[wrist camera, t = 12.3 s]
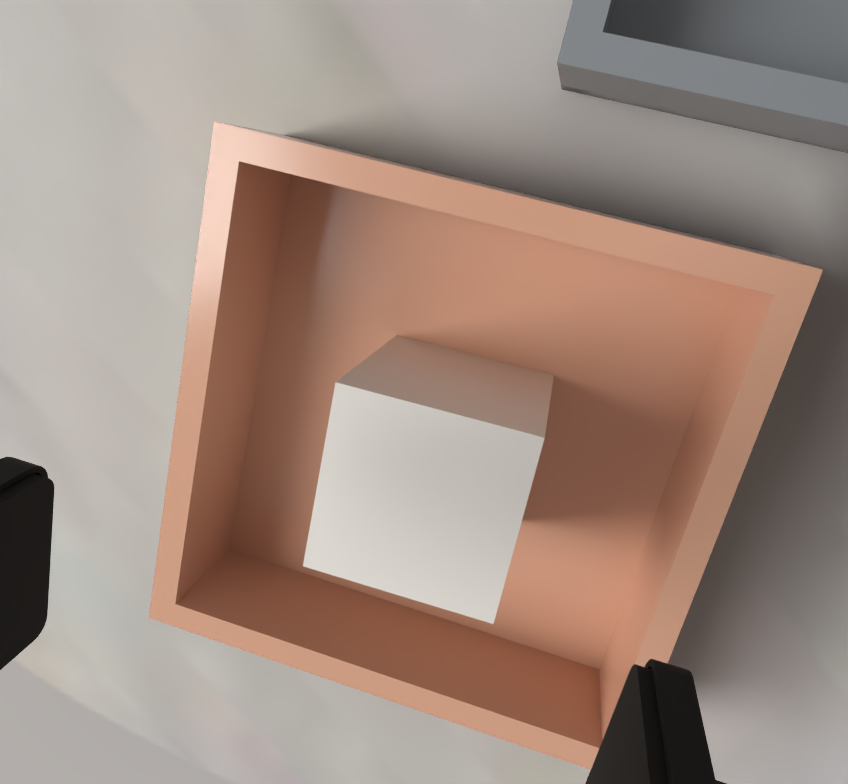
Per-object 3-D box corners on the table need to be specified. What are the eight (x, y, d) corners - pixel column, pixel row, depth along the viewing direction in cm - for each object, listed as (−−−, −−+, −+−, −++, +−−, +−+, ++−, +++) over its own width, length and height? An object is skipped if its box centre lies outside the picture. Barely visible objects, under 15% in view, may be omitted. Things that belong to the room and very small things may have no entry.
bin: (282, 134, 23) (214, 121, 18) (773, 253, 21) (823, 269, 17) (216, 551, 27) (148, 617, 23) (614, 681, 25) (621, 780, 21)
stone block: (396, 334, 23) (335, 382, 17) (553, 375, 22) (544, 437, 16) (367, 479, 24) (302, 565, 19) (514, 520, 24) (493, 624, 18)
